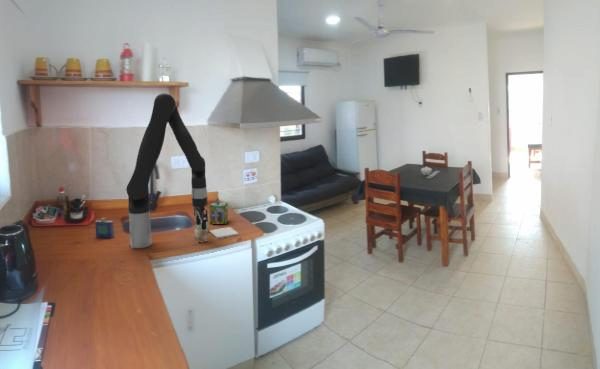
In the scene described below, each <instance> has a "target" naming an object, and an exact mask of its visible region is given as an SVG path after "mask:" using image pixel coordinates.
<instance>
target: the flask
mask: <svg viewBox="0 0 600 369" xmlns="http://www.w3.org/2000/svg"><path fill="white" fill-rule="evenodd" d="M106 218H107V217H102V218H101V219H97V220H95V222H94V224H95V236H96V238H97V239H101V240H102V239H105V240H106V239H108V240H110V239H111V240H112V239H114V238H115V230H114V221H113V220H106Z"/></svg>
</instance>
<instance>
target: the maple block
mask: <svg viewBox="0 0 600 369" xmlns="http://www.w3.org/2000/svg"><path fill="white" fill-rule="evenodd" d="M193 232H194V241H195V240H196V241H197V242H200V241H205V240H207V241H208V233H207V230H206V229H205V230H202V228H198V229H196V228H194V230H193ZM196 241H195V242H196ZM197 242H196V243H197Z"/></svg>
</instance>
